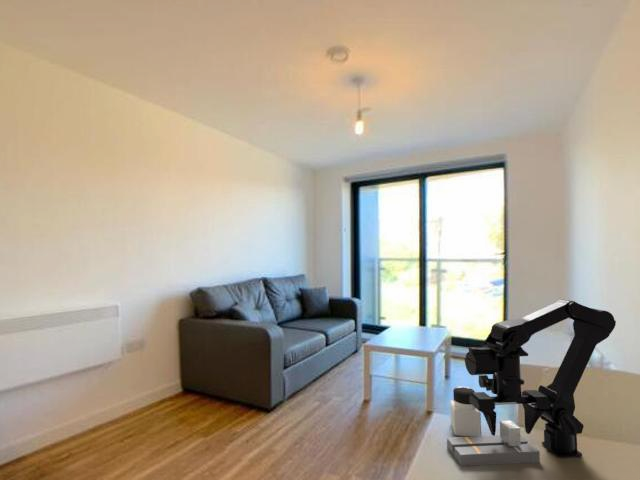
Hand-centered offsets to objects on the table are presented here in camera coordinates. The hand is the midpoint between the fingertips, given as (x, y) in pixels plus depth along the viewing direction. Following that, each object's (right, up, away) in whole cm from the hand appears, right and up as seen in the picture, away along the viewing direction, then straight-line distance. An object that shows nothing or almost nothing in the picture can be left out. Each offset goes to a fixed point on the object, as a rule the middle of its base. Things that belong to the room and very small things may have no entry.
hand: (510, 434), depth 91 cm
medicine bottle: (-7, -6, +12) cm, 15 cm away
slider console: (-5, -5, 0) cm, 7 cm away
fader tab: (0, -4, 0) cm, 4 cm away
